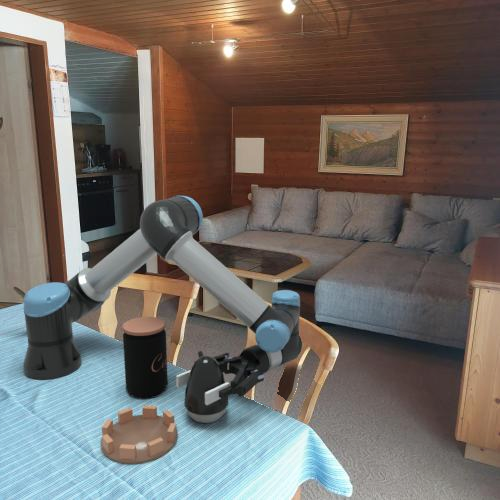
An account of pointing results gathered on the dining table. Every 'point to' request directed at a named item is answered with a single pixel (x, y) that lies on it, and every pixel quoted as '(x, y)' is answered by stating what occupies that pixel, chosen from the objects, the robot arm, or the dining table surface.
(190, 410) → the pump dispenser
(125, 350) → the coffee jar
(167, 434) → the castellated collar
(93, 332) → the dining table surface
